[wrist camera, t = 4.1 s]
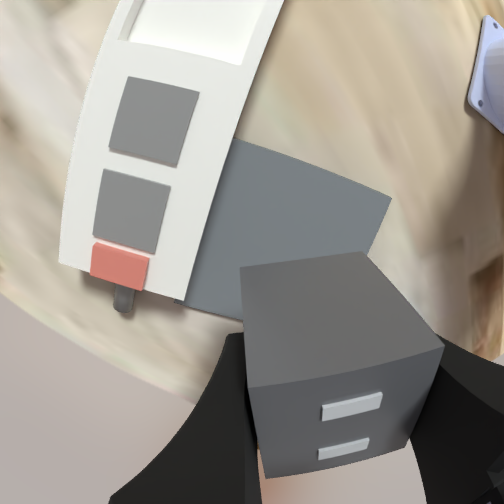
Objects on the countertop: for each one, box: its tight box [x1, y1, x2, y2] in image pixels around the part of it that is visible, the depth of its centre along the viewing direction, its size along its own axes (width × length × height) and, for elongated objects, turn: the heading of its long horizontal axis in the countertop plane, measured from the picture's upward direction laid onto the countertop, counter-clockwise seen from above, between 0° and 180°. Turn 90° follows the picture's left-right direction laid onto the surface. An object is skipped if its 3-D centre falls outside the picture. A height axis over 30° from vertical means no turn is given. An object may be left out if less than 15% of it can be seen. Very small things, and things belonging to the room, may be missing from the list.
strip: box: [59, 0, 284, 313], centre depth 12 cm, size 25×7×4 cm, turn 161°
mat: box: [174, 138, 392, 320], centre depth 18 cm, size 10×10×1 cm
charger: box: [240, 251, 445, 479], centre depth 9 cm, size 4×4×6 cm
